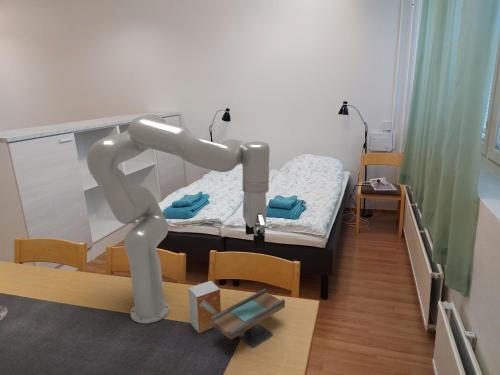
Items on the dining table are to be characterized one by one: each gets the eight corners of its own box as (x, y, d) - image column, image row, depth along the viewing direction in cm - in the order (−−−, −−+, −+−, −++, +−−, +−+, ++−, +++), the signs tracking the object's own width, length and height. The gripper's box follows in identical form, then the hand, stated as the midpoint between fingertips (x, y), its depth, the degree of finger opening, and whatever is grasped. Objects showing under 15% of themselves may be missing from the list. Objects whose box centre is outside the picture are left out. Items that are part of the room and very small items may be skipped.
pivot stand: (227, 328, 114) (226, 313, 112) (246, 317, 119) (246, 303, 117) (253, 348, 105) (253, 332, 104) (272, 335, 110) (272, 320, 109)
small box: (198, 334, 111) (196, 297, 108) (190, 323, 117) (187, 287, 113) (221, 324, 116) (220, 288, 112) (212, 314, 121) (210, 279, 117)
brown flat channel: (211, 324, 106) (211, 317, 106) (264, 295, 121) (264, 288, 120) (230, 339, 100) (230, 332, 99) (284, 307, 114) (284, 300, 114)
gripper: (236, 178, 111) (236, 230, 116) (249, 195, 95) (249, 254, 100) (260, 177, 113) (259, 228, 117) (277, 193, 96) (275, 252, 101)
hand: (254, 240), depth 108 cm, fingers open, 9 cm apart
